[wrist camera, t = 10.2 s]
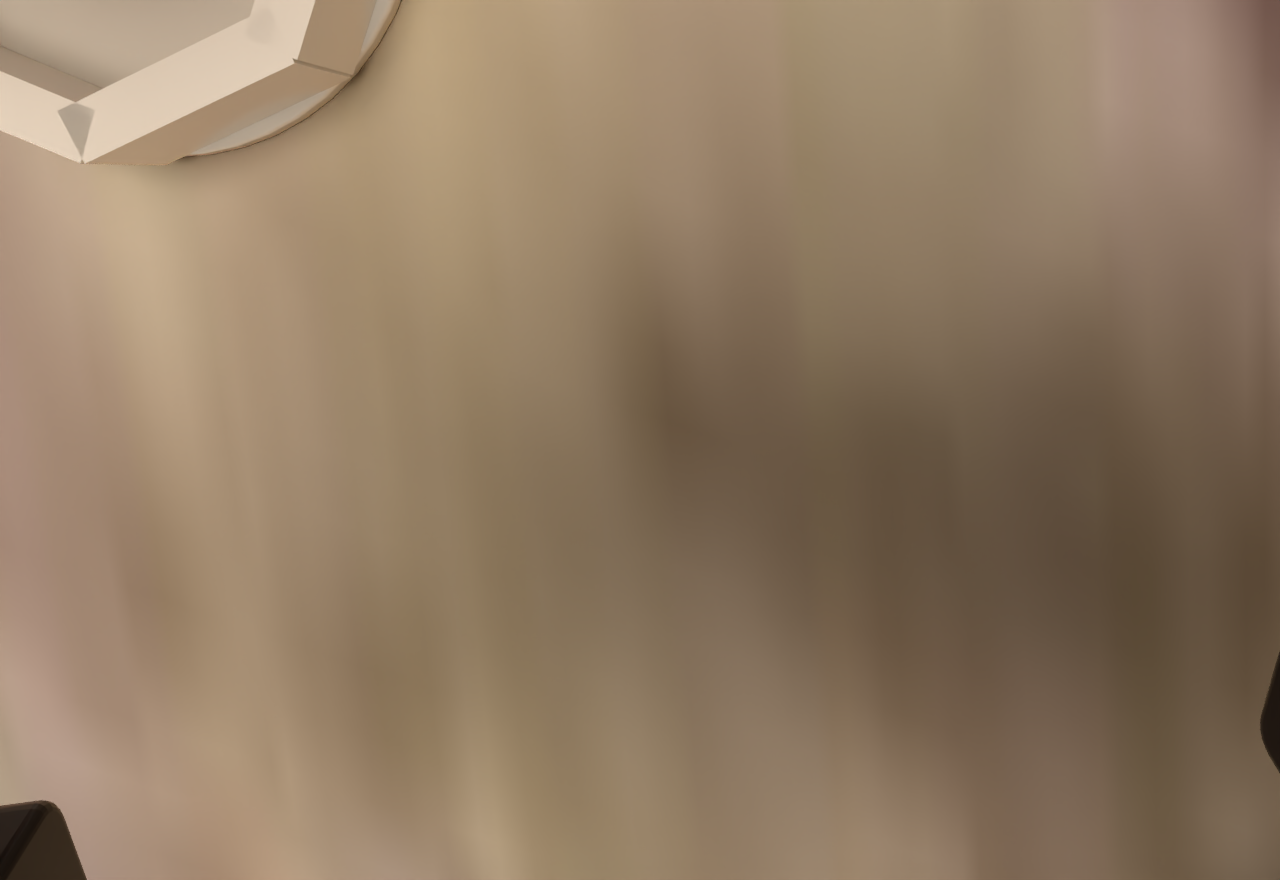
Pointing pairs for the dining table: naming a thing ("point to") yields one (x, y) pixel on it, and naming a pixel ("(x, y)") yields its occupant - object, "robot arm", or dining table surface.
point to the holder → (175, 71)
